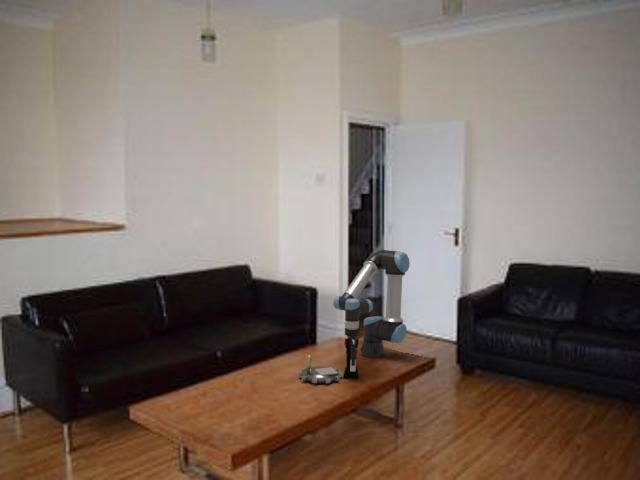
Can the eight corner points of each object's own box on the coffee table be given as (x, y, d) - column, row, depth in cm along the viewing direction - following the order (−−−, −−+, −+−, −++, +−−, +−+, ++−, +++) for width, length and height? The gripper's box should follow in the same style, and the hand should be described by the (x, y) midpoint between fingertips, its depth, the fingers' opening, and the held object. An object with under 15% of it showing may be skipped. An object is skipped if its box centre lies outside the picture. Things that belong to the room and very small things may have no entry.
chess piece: (358, 374, 316) (359, 338, 314) (358, 379, 308) (358, 343, 306) (343, 373, 317) (344, 338, 315) (343, 378, 309) (343, 342, 307)
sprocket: (293, 371, 316) (293, 350, 315) (331, 367, 324) (332, 346, 323) (307, 385, 295) (307, 362, 294) (348, 380, 303) (348, 358, 302)
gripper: (341, 322, 321) (341, 360, 324) (348, 333, 298) (347, 374, 300) (355, 322, 322) (354, 360, 324) (362, 333, 299) (361, 374, 301)
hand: (351, 367), depth 312 cm, fingers open, 11 cm apart
